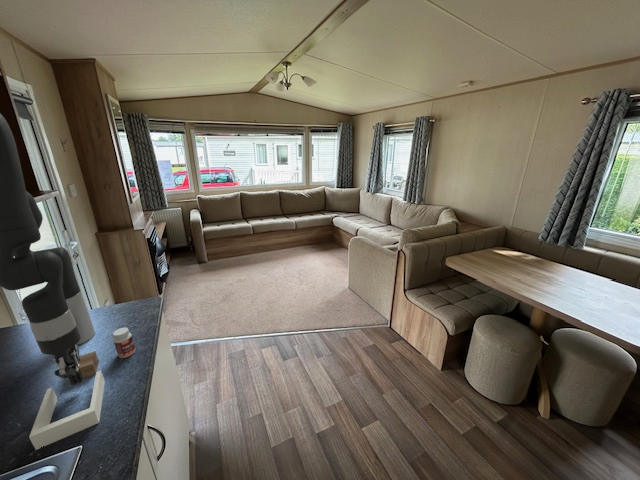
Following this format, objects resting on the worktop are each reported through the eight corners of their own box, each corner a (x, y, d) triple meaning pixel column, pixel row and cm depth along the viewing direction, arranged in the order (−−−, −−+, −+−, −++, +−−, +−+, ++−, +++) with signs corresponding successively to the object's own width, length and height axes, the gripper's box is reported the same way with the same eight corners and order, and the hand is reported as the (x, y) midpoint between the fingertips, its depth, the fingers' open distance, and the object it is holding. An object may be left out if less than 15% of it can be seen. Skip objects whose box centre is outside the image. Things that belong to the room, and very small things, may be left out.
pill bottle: (126, 359, 83) (120, 337, 80) (114, 357, 84) (107, 335, 81) (139, 348, 87) (133, 327, 85) (127, 346, 88) (121, 325, 86)
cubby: (52, 400, 70) (47, 389, 68) (104, 381, 75) (100, 370, 74) (35, 449, 58) (29, 437, 57) (99, 422, 64) (94, 410, 62)
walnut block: (73, 369, 80) (69, 359, 78) (99, 361, 83) (95, 351, 81) (69, 383, 75) (64, 372, 74) (96, 374, 78) (92, 363, 77)
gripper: (42, 320, 69) (64, 371, 75) (26, 351, 59) (53, 408, 65) (79, 311, 73) (97, 360, 79) (70, 338, 63) (92, 393, 69)
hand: (77, 381), depth 72 cm, fingers closed
